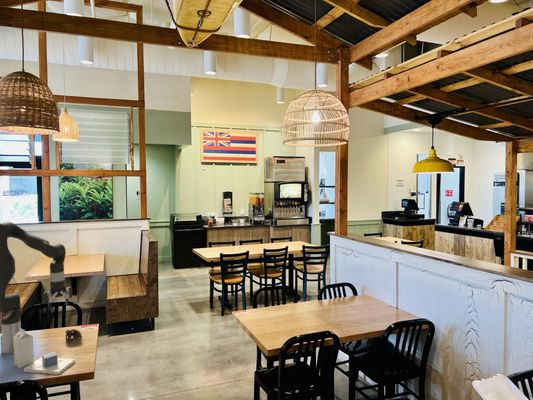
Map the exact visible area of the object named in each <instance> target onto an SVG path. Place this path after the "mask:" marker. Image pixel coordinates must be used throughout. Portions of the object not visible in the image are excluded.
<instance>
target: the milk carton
mask: <svg viewBox="0 0 533 400" xmlns="http://www.w3.org/2000/svg"><path fill="white" fill-rule="evenodd" d="M13 340H14V353H13V354H14V355H13V356H14V364H15V366H17V368H19V369H21V368H24V367H27V366H29V365H30V364H32V363H34V362H35V357H34V336H33V335H32V334H30V333H29V332H27V331H26V330H25V329H22V328H20V331H19V332H18V333H17V334H16V335H15V336H14V337H13Z"/></svg>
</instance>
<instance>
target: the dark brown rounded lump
mask: <svg viewBox="0 0 533 400" xmlns="http://www.w3.org/2000/svg"><path fill="white" fill-rule="evenodd" d="M64 338H65V344H66V345H69V344H70V343H73V342H76V341H77V340H78V339H83V336H82V333H81V331H79V330H77V329H76V328H73V329H67V330H66V331H65V337H64Z"/></svg>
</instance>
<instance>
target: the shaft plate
mask: <svg viewBox="0 0 533 400" xmlns="http://www.w3.org/2000/svg"><path fill="white" fill-rule="evenodd" d="M57 361H58V364H56V365H53V366H50V367H46V368H45V367H44V366H43V364H42V356H41V357H40V358H38V359H37V360H34V363H32V364H29V365H26V366H25V368H24V367H23V372H24V373H26V372H27V373H37V374H47V373H48V375H60V374H61V373H63V372H64V371H65V370H67V369H68V368H69V367H71V366H72V365H73V364H75V363H76V359H74V358H61V357H57Z"/></svg>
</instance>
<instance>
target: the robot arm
mask: <svg viewBox="0 0 533 400" xmlns="http://www.w3.org/2000/svg"><path fill="white" fill-rule="evenodd" d="M9 238H12V239H17V240H20V241H22V242H23V244H25V246H27V247H29V248H30V249H32V250H35V251H38V252H40V253H41V254H43V255H44V256H46V257H47V258H50V259H52V261H51V262H50V264H49V289H50V290H49V291H47V290H45V291H43V302H44V303H47V308H48V309H49V310H52V301H53V300H54V299H55V298H59V297H60V298H61V297H64V298H65V306H66V307H67V306H68V305H69V304H70V299H71V298H73V291H72V287H71V286H67V287H66V277H65V276H66V275H65V261H66V260H65V259H66V253H67V251H66V247H65V246H64V245H63V244H61V243H57V244H53V245H51V244H50V241H49V240H47V239H44V238H42V237H40V236H37V235H35V234H32V233H30V232H28V231H27V230H25V229H24V228H22V227H20V226H18V225H17V224H15V223H13V222H11V221H4V222H3V221H2V222H0V313H1V314H2V313H6V312H9V313H7V314H6V315H4V316H2V318H1V319H0V323H1V324H0V325H1V335H0V351H1V353H3V354H5V355H12V354H14V340H13V337H14V336H15V335H16V334H17V333H18V332H19V331H20V328H21V327H22V325H21V303H22V302H21V297H20V294H18V293H17V292H14V293H9V294H6V291H7V288H8V285H9V283H11V281H12V278H13V277H14V275H15V273H16V260H15V258H14V255H13V254H12V253H11V250H10V249H9V246H8V239H9ZM66 291H67V292H68V295H67V294H66ZM49 295H50V296H49ZM48 296H49V298H48ZM21 329H22V328H21Z"/></svg>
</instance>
